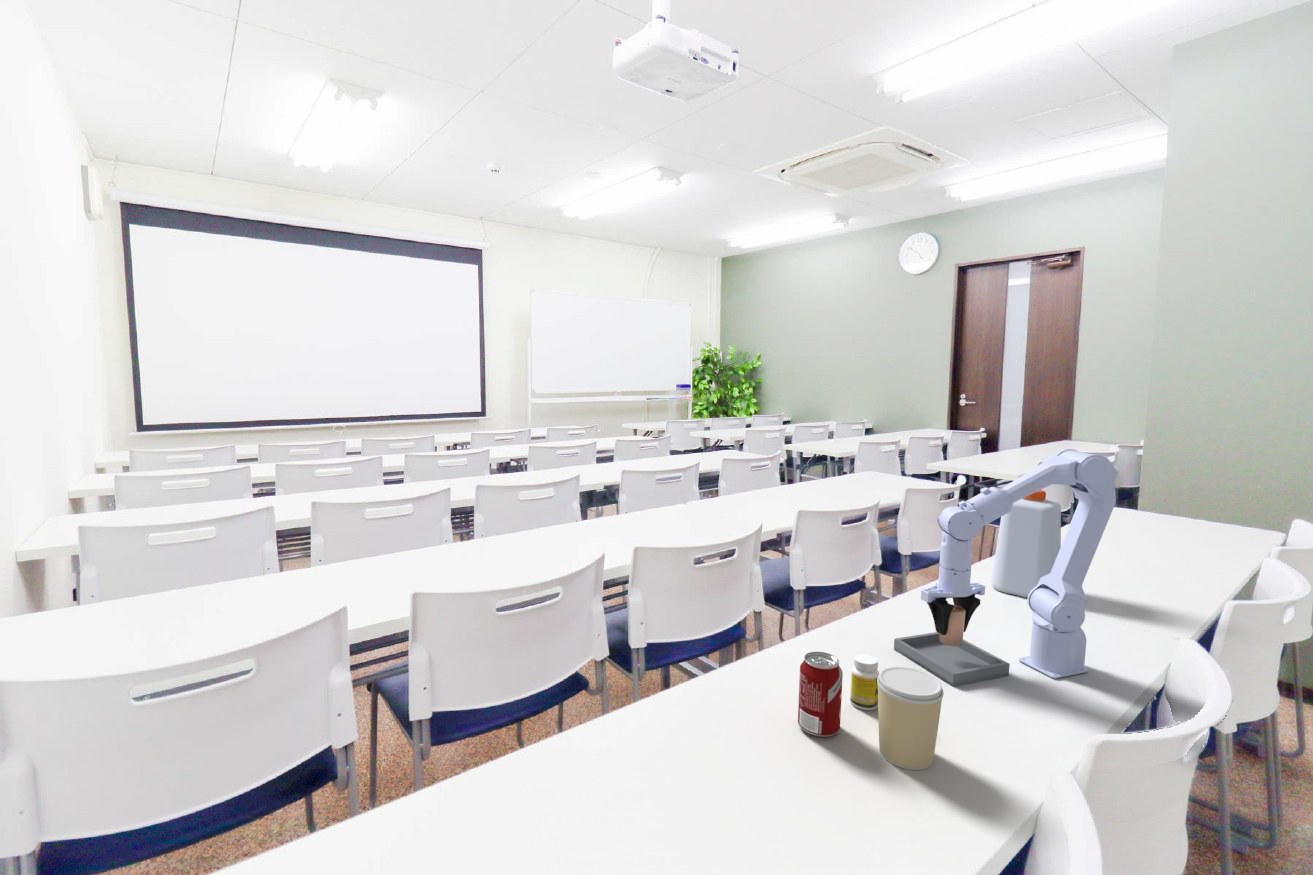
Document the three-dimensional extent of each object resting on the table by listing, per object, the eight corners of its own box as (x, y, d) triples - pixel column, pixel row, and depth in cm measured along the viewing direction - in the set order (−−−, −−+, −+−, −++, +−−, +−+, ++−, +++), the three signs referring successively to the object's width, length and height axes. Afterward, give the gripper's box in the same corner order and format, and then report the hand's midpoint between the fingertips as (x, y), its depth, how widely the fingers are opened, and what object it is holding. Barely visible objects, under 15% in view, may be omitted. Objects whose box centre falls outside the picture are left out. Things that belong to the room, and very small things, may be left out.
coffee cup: (915, 733, 98) (919, 663, 97) (952, 770, 89) (957, 694, 88) (862, 738, 97) (866, 667, 95) (894, 777, 87) (899, 699, 86)
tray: (945, 640, 133) (946, 630, 133) (1008, 675, 118) (1009, 663, 118) (893, 649, 128) (894, 638, 128) (952, 686, 113) (953, 674, 113)
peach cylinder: (950, 634, 125) (954, 602, 124) (967, 644, 121) (970, 611, 120) (933, 637, 124) (936, 605, 123) (949, 647, 120) (953, 614, 119)
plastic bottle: (1063, 590, 166) (1071, 490, 163) (1051, 604, 155) (1060, 498, 152) (1001, 576, 176) (1008, 482, 173) (986, 589, 165) (994, 489, 162)
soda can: (817, 744, 95) (820, 672, 94) (789, 722, 101) (791, 654, 100) (848, 733, 98) (852, 663, 97) (819, 712, 104) (822, 646, 103)
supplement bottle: (879, 712, 104) (882, 666, 103) (851, 709, 105) (853, 663, 104) (875, 698, 109) (877, 654, 108) (848, 695, 110) (850, 651, 109)
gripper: (967, 557, 127) (962, 619, 129) (911, 563, 122) (907, 627, 124) (995, 568, 120) (990, 633, 122) (937, 575, 116) (933, 642, 117)
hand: (950, 631), depth 122 cm, fingers closed on peach cylinder, 4 cm apart
